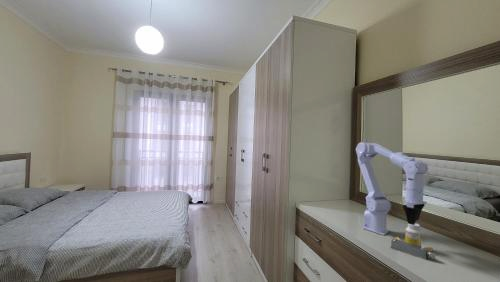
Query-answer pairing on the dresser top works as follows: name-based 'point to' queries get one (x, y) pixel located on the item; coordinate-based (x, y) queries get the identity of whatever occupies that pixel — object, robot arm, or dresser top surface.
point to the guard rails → (426, 247)
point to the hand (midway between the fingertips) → (413, 222)
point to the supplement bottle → (413, 234)
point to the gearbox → (411, 249)
